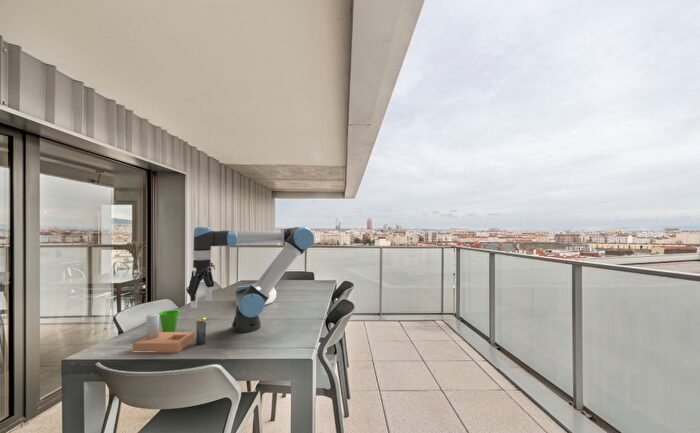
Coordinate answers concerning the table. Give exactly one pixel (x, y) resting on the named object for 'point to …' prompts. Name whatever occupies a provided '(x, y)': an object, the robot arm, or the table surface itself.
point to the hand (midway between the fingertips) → (201, 303)
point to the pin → (201, 330)
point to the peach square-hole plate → (162, 338)
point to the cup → (169, 320)
